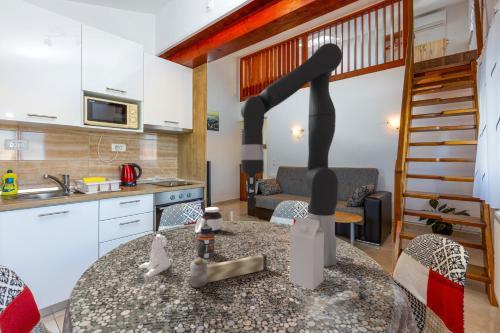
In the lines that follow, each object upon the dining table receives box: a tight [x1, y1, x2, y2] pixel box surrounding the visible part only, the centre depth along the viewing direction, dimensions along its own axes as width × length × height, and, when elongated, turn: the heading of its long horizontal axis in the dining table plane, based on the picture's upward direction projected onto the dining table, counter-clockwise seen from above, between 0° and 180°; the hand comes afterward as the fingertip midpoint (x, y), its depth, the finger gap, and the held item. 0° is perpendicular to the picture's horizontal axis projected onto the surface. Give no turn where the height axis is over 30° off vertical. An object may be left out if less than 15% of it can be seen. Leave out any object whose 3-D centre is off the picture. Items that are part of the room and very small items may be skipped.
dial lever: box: [189, 253, 268, 288], centre depth 69 cm, size 23×4×6 cm, turn 117°
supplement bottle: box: [197, 226, 216, 259], centre depth 86 cm, size 6×6×11 cm
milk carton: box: [288, 216, 324, 291], centre depth 67 cm, size 7×7×19 cm
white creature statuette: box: [139, 233, 172, 278], centre depth 75 cm, size 10×9×12 cm
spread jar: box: [194, 206, 223, 234], centre depth 119 cm, size 12×11×12 cm
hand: (252, 207), depth 80 cm, fingers open, 8 cm apart
